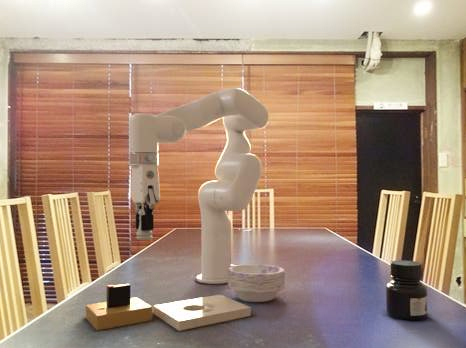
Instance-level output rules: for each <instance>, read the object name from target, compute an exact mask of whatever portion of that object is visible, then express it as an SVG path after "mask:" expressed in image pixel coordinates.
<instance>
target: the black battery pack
mask: <svg viewBox="0 0 466 348" xmlns="http://www.w3.org/2000/svg"><path fill="white" fill-rule="evenodd" d="M130 298H131V284H130V283H124V284H123V283H122V284H116V285H113V284H108V285H107V286H106V302H107V307H108V308H113V307H119V306H125V305H130Z"/></svg>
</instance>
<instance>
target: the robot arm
mask: <svg viewBox="0 0 466 348" xmlns="http://www.w3.org/2000/svg"><path fill="white" fill-rule="evenodd" d="M220 119H222V124H223V128H224V130H225V133H226V139H227V140H226V144H225V146H224V149H223V151H222V153H221V155H220V157H219V159H218V161H217V163H216V165H215V169H214V176H215V177H216V179H217V180H210V181H206V182H204V183H203V184H201V186H200V187H199V189H198V192H197V201H198V206H199V211H200V223H201V224H200V226H201V227H200V228H201V233H200V235H201V236H200V237H201V240H200V241H201V243H200V245H201V251H200V252H201V253H200V255H201V257H200V258H201V262H200V263H201V265H200V267H201V273H200V274H198V275H197V276H196V281H197V282H198V283H201V284H207V285H221V284H228V269H229V268H230V267H232V266H237V265H235V264H233V263H232V222H231V219H230V216H229V214H228V212H241V211H243V210H245V209H247V207H248V206H249V205H250V203H251V201H252V199H253V196H254V195H255V192H256V189H257V188H258V184H259V182H260V180H261V178H262V177H261V176H262V171H263V170H262V161H261V159H260V158H259V157H258V156H257V155H256V154H253V153H251V151H252V150H251V143H250V141H249V139H248V137H247V136H246V133H245V132H250V131H251V132H252V131H259V130H262V129H265V128H266V127H267V126H268V124H269V123H270V113H269V111H268V108H267V107H266V106H265V105H264V104H263V103H262V102H261V101H259V100H258V99H257V98H255V97H254V96H253V95H252V94H250V93H249V92H247V91H246V90H244V89H241V88H239V87H233V88H227V89H221V90H217V91H214V92H210V93H209V94H207V95H204V96H202V97H199V98H197V99H195V100H192V101H190V102H187V103H184V104H181V105H178V106H177V107H173V108H170V109H168V110H165V111H162V112H160V113H157V114H153V113H147V112H146V113H143V112H142V113H141V112H140V113H138V112H137V113H134V114H131V115H130V116H129V119H128V150H129V151H128V152H129V154H128V156H129V157H128V159H129V160H128V161H129V163H128V164H129V167H131V185H130V194H131V195H130V196H131V201H132V202H133V205H134V206H135V211H134V213H135V229H136V230H138V229H139V223H140V219H139V217H140V215H139V214H138V212H139V209H142V215H141V230H142V231H148V230H151V231H153V230H154V214H155V206H156V204H158V203H160V201H161V189H160V187H161V186H160V174H159V168H158V167H159V145H163V144H165V145H166V144H174V143H178V142H180V141H182V140H183V139H184V137H185V135H186V133H187V132H191V131H197V130H199V129H202V128H205V127H207V126H209V125H211V124H212V123H215V122H217V121H218V120H220Z"/></svg>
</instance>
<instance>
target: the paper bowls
mask: <svg viewBox="0 0 466 348" xmlns="http://www.w3.org/2000/svg"><path fill="white" fill-rule="evenodd" d="M285 275H286V273H285V269H284V268H283V267H282V266H281V267H280V266H276V265H271V264H258V263H256V264H255V263H252V264H238V265H236V266H235V265H234V266H232V267H230V268H229V269H228V283H227V287H228V288H229V289H230V290H233V291H234V293H235V296H236V298H237V299H239V300H241V301H244V302H249V303H265V302H270V301H272V300H275V298H276V297H277V295H278V293H279V292H281V291H283V290H284V289H285V285H286V283H285V279H286V278H285Z"/></svg>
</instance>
